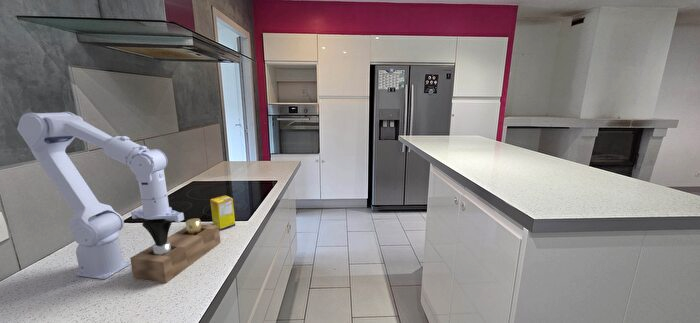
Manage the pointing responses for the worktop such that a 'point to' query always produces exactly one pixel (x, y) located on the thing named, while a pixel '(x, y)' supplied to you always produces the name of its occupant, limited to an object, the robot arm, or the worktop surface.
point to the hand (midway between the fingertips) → (161, 244)
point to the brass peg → (193, 226)
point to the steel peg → (162, 249)
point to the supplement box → (222, 212)
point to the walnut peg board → (175, 255)
